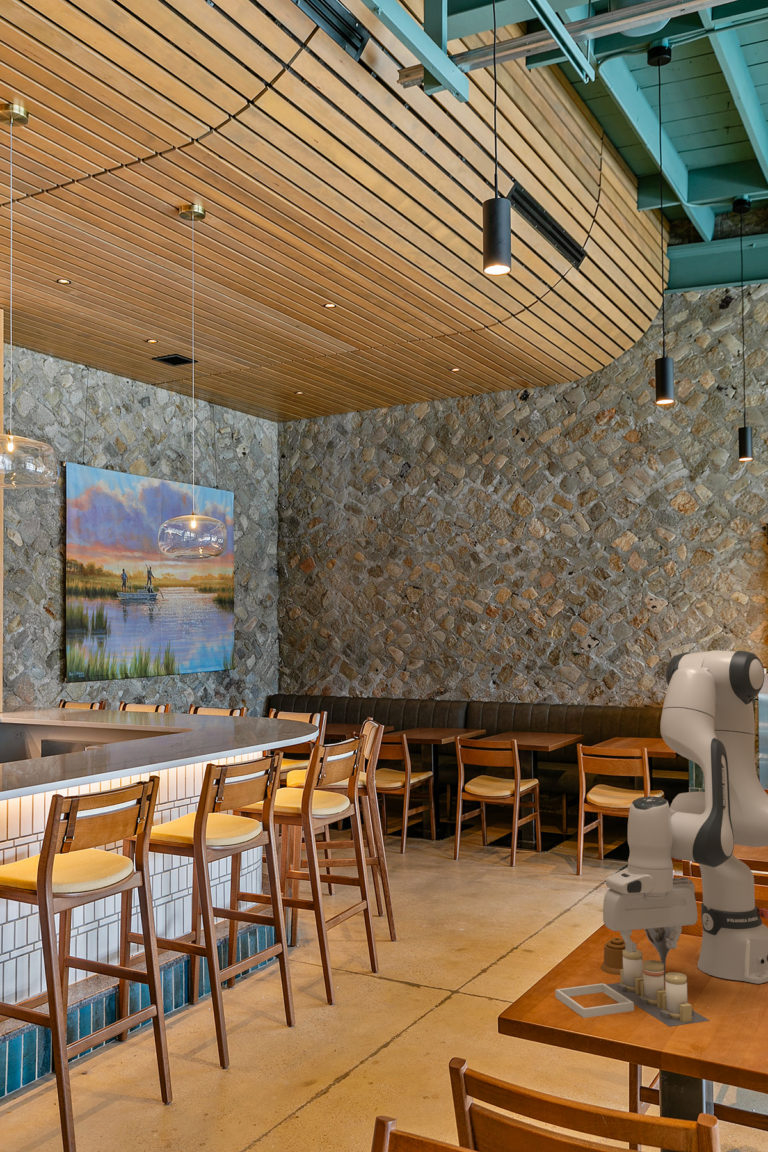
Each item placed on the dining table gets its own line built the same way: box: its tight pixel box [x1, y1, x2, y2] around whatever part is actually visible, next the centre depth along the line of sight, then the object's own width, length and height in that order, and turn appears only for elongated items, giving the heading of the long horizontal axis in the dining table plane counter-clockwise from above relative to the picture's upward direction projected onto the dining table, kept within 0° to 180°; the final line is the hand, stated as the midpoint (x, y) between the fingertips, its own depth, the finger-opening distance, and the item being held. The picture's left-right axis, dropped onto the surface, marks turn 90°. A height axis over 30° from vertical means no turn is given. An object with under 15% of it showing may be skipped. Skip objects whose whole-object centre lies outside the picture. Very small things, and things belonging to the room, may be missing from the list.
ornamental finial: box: [600, 937, 625, 976], centre depth 207 cm, size 8×8×8 cm
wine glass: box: [644, 927, 680, 978], centre depth 203 cm, size 8×8×15 cm
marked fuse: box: [643, 959, 665, 1005], centre depth 188 cm, size 4×4×8 cm
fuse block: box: [605, 969, 711, 1028], centre depth 188 cm, size 9×23×4 cm, turn 18°
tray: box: [554, 982, 635, 1019], centre depth 187 cm, size 11×11×3 cm
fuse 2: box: [664, 971, 688, 1020], centre depth 181 cm, size 4×4×8 cm
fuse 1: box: [623, 949, 644, 992], centre depth 195 cm, size 4×4×8 cm
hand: (651, 950), depth 188 cm, fingers open, 8 cm apart
